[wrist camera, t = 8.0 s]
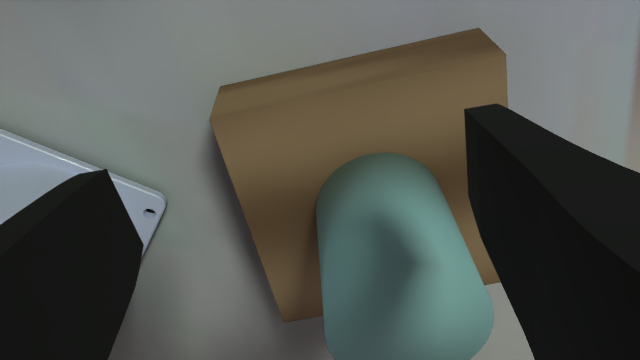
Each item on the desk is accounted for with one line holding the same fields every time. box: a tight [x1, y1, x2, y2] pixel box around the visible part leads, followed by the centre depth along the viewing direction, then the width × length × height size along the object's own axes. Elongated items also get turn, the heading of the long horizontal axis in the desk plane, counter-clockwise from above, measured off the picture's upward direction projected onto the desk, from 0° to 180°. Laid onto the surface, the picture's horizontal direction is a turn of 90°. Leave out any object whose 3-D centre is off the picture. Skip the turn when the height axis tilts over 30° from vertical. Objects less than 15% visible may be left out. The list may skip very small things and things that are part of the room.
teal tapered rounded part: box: [316, 153, 494, 360], centre depth 18 cm, size 5×5×6 cm
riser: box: [210, 28, 508, 323], centre depth 21 cm, size 10×10×3 cm
